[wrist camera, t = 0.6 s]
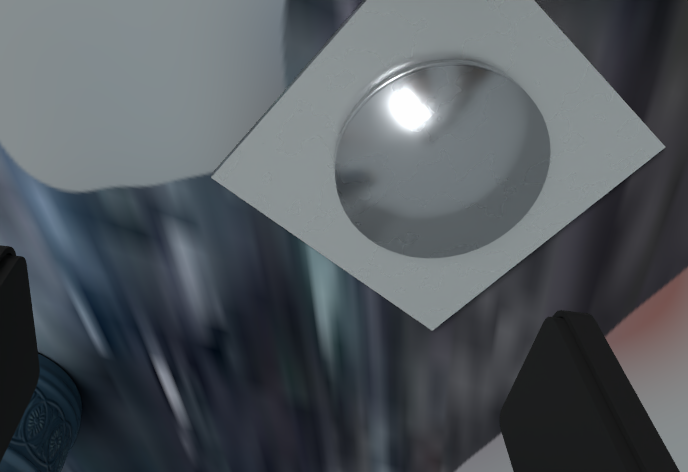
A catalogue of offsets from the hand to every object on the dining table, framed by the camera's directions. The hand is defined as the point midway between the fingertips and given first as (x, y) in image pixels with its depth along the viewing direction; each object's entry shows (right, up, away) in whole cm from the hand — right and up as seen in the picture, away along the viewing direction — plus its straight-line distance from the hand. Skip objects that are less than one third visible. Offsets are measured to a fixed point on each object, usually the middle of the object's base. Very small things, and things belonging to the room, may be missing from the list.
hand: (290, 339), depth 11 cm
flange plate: (+7, +7, +28) cm, 29 cm away
